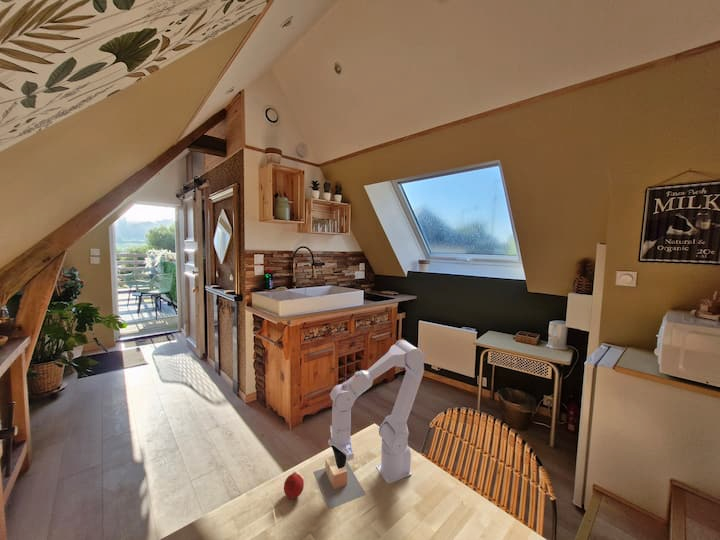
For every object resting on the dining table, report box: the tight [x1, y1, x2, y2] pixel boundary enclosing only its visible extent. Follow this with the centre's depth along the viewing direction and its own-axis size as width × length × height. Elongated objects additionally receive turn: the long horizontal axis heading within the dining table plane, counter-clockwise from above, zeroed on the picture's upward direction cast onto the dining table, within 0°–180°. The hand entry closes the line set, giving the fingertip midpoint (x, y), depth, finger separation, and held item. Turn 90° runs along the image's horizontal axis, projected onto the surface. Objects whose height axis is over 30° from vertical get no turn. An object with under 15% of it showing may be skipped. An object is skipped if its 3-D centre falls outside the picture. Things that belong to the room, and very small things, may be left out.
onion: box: [283, 470, 305, 500], centre depth 87 cm, size 6×6×8 cm
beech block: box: [324, 454, 347, 489], centre depth 94 cm, size 4×4×8 cm
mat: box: [313, 460, 367, 510], centre depth 92 cm, size 12×15×1 cm
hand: (340, 466), depth 90 cm, fingers closed
